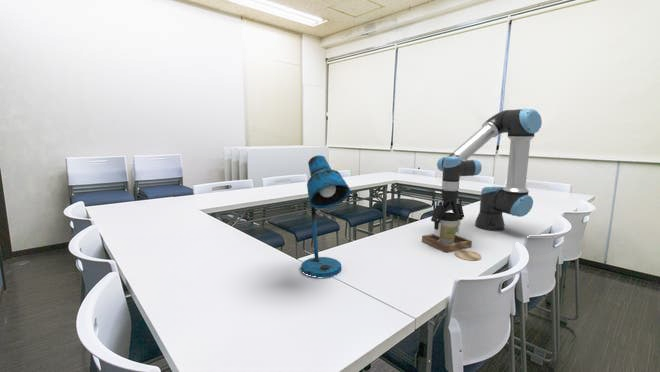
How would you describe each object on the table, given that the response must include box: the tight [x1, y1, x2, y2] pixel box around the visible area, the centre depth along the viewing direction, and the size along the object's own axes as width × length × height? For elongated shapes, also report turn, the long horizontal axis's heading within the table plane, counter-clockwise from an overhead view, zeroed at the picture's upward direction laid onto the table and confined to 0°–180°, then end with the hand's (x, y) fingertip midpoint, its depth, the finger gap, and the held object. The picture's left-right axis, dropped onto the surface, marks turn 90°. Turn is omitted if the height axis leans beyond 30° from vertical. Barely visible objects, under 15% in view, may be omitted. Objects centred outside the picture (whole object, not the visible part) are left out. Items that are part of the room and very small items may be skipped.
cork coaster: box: [454, 249, 482, 262], centre depth 142 cm, size 11×11×1 cm
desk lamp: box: [300, 155, 351, 278], centre depth 122 cm, size 16×22×45 cm
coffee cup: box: [438, 211, 459, 245], centre depth 154 cm, size 10×10×15 cm
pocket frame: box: [421, 233, 473, 254], centre depth 155 cm, size 16×16×3 cm
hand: (446, 233), depth 154 cm, fingers open, 12 cm apart
